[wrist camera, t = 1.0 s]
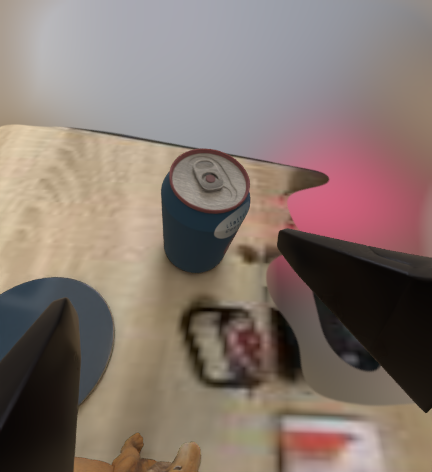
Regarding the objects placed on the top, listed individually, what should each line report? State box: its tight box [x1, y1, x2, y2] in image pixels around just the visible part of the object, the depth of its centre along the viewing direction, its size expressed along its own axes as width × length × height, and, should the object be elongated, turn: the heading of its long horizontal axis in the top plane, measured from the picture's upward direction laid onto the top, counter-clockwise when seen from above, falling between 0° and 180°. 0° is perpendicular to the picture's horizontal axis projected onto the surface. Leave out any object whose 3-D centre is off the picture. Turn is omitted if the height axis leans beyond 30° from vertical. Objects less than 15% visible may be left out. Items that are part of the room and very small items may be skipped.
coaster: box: [0, 277, 115, 406], centre depth 19 cm, size 12×12×1 cm
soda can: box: [161, 149, 250, 273], centre depth 21 cm, size 7×7×12 cm
